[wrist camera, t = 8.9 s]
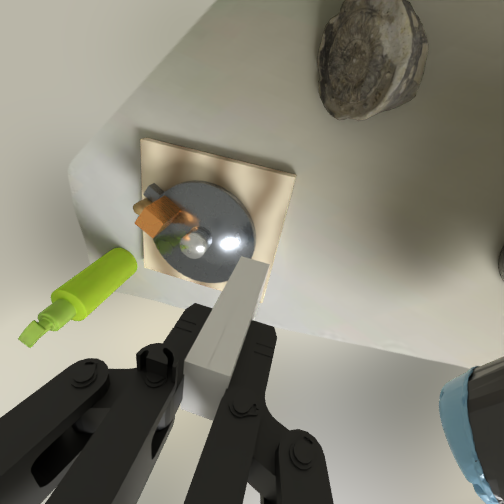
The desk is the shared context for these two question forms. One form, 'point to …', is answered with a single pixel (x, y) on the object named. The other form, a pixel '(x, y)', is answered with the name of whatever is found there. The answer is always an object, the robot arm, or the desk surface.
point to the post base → (227, 176)
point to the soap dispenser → (82, 293)
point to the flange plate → (214, 220)
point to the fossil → (371, 58)
